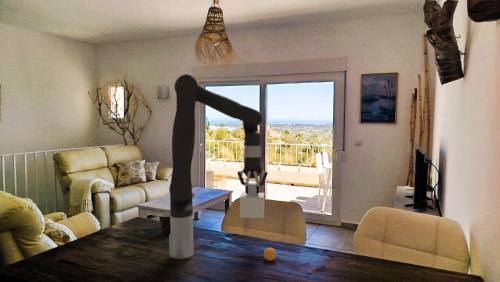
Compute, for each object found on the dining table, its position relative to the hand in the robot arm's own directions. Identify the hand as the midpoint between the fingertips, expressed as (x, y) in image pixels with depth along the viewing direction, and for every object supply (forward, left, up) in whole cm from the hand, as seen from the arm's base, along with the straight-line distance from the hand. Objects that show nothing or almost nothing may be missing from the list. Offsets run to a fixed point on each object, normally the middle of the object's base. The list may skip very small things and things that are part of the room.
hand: (252, 194), depth 149 cm
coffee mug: (-44, +17, -24) cm, 53 cm away
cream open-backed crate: (0, 0, -9) cm, 9 cm away
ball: (+8, -14, -21) cm, 27 cm away
